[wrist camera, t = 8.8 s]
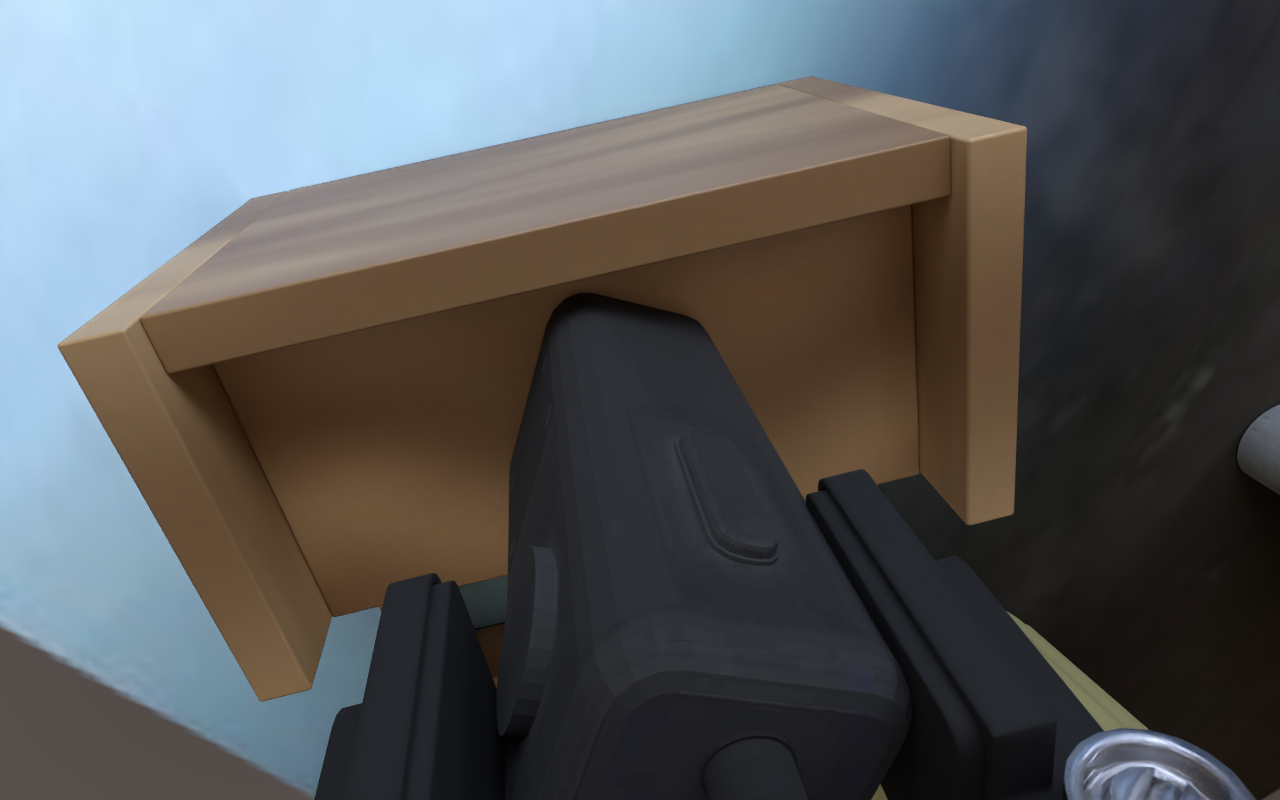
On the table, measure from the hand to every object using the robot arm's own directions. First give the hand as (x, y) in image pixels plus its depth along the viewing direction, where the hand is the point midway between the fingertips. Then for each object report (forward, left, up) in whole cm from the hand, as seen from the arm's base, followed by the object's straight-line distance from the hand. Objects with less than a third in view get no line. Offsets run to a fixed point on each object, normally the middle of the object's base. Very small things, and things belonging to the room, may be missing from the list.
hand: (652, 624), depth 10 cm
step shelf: (+4, 0, -14) cm, 15 cm away
